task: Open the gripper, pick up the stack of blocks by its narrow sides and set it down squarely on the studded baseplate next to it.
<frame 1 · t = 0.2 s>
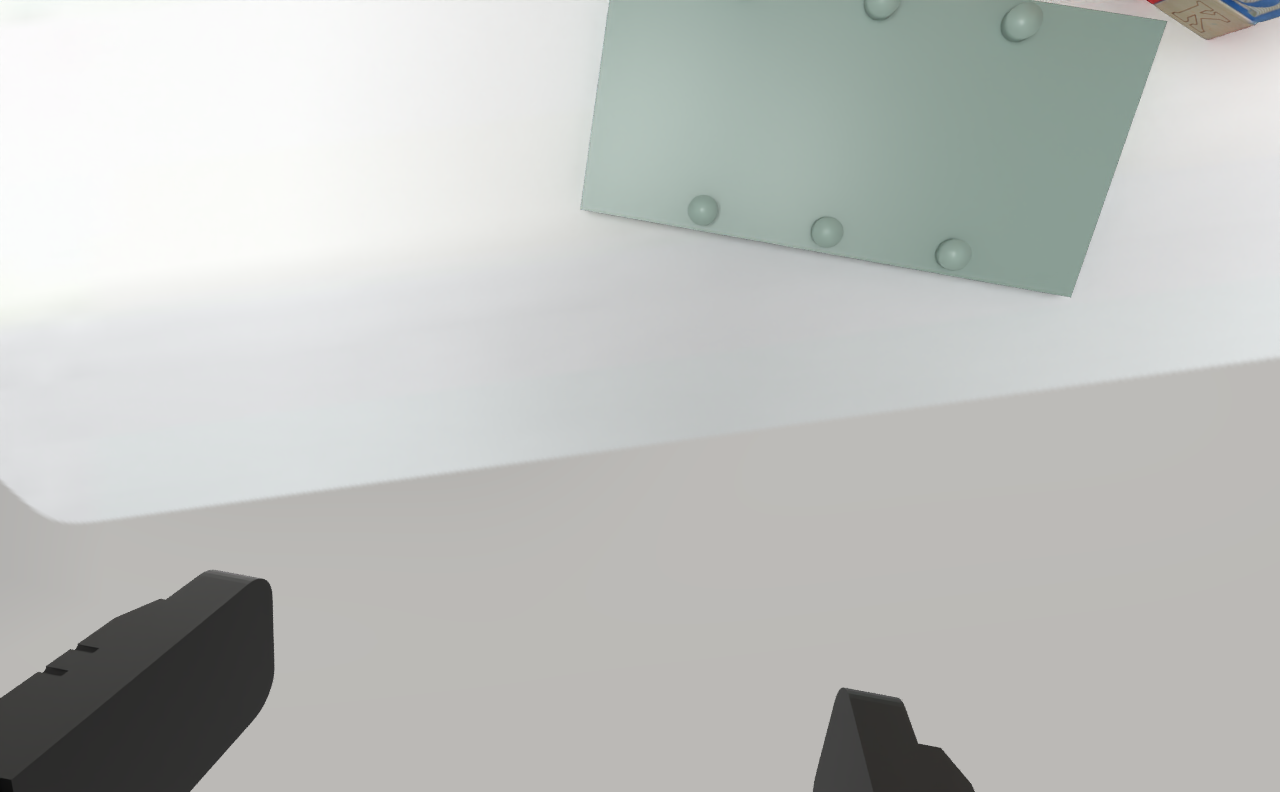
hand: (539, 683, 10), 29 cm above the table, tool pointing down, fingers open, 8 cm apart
baseplate: (846, 125, 34), on the table
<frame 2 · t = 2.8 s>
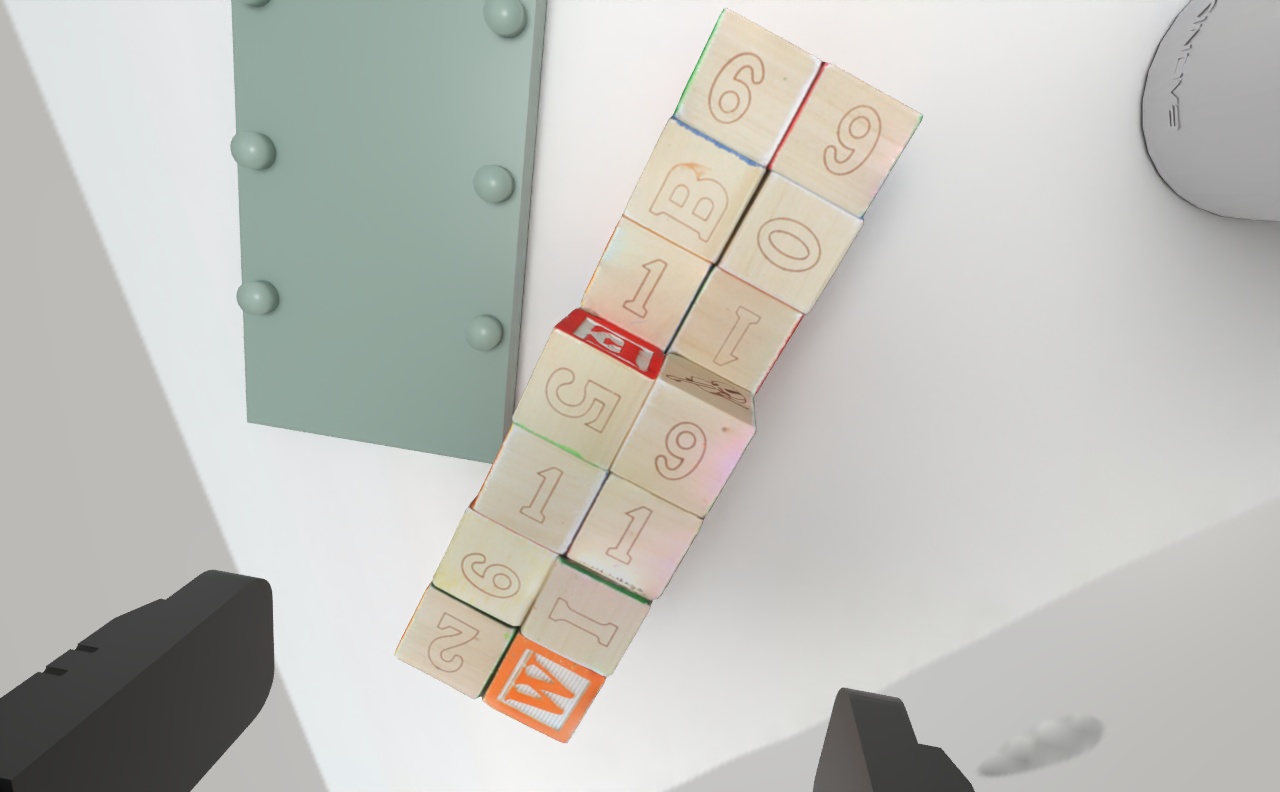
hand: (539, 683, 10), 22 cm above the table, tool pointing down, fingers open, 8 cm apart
stack of blocks: (667, 336, 31), on the table
baseplate: (393, 168, 30), on the table
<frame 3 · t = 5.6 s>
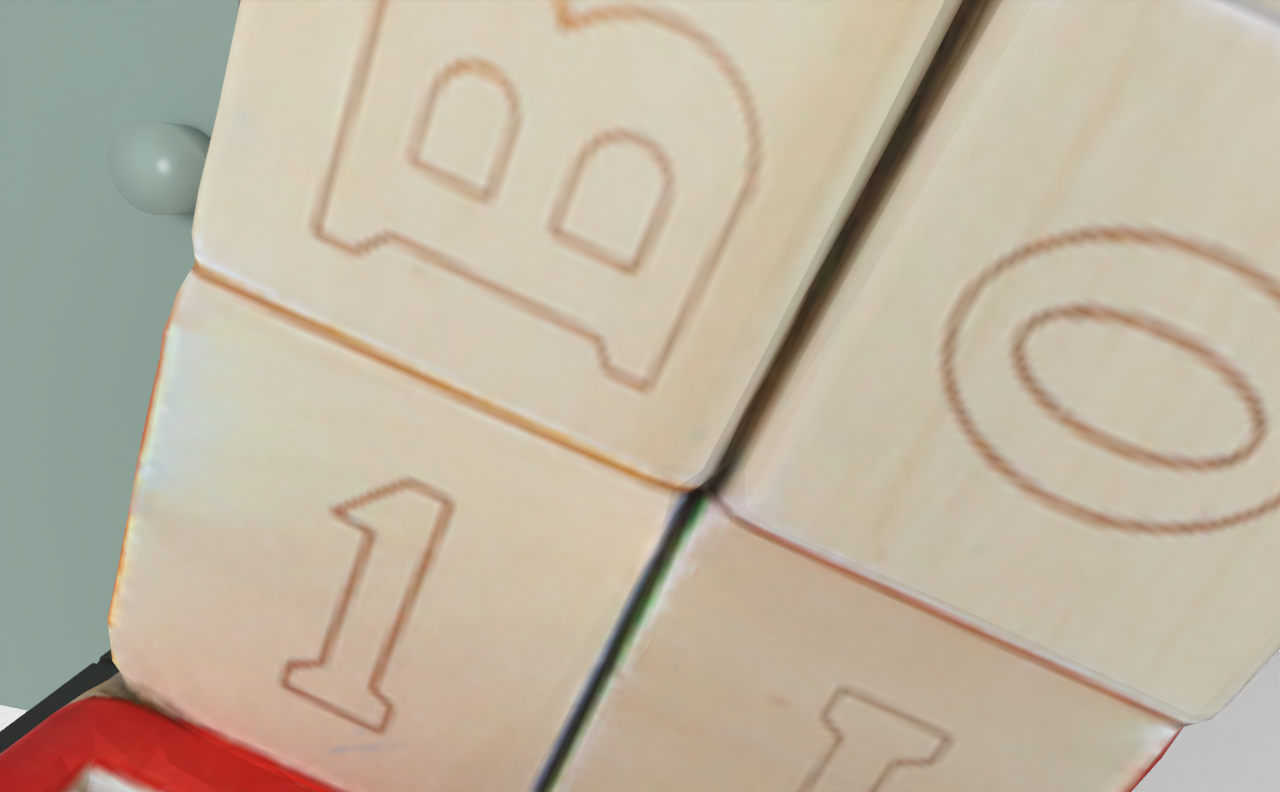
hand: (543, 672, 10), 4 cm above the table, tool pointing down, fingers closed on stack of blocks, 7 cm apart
stack of blocks: (618, 487, 14), on the table, touching gripper
baseplate: (0, 138, 13), on the table
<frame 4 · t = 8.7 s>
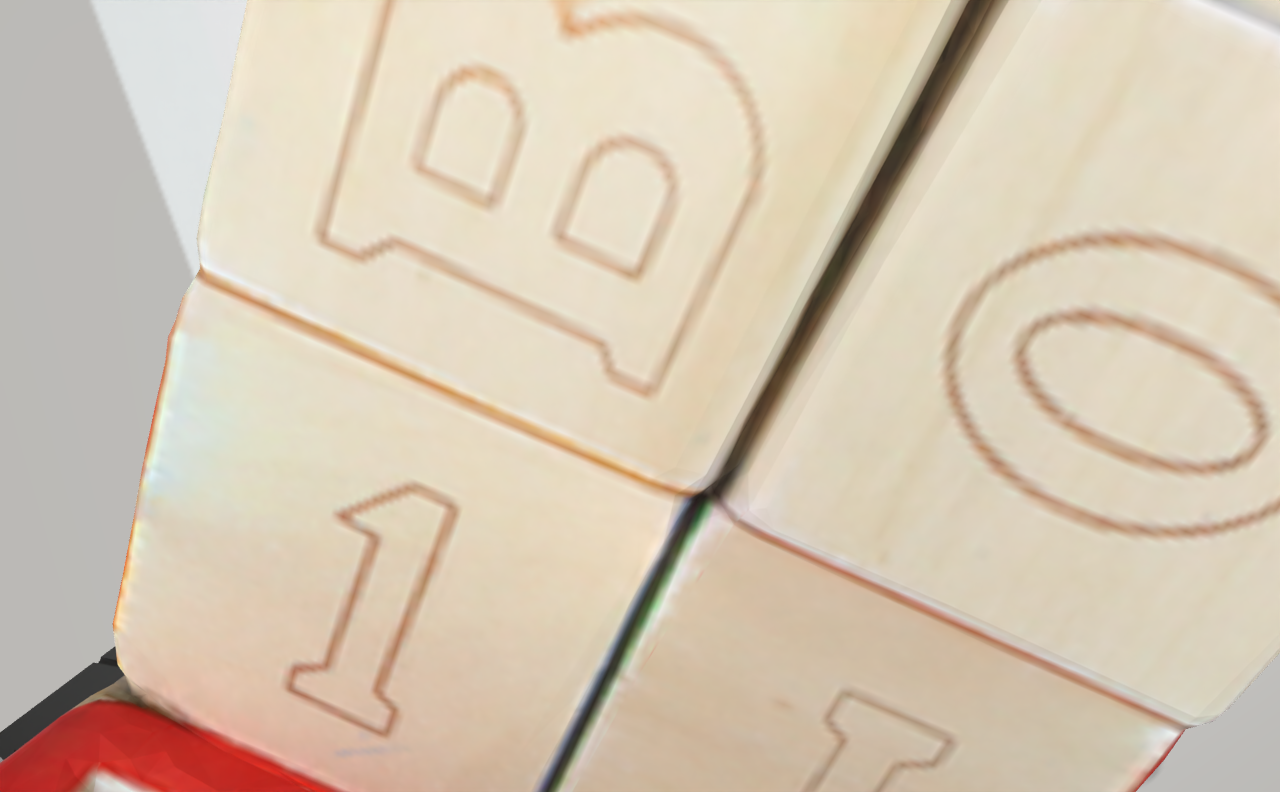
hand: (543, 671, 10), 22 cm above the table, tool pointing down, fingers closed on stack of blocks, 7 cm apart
stack of blocks: (619, 488, 14), point 17 cm above the table, touching gripper
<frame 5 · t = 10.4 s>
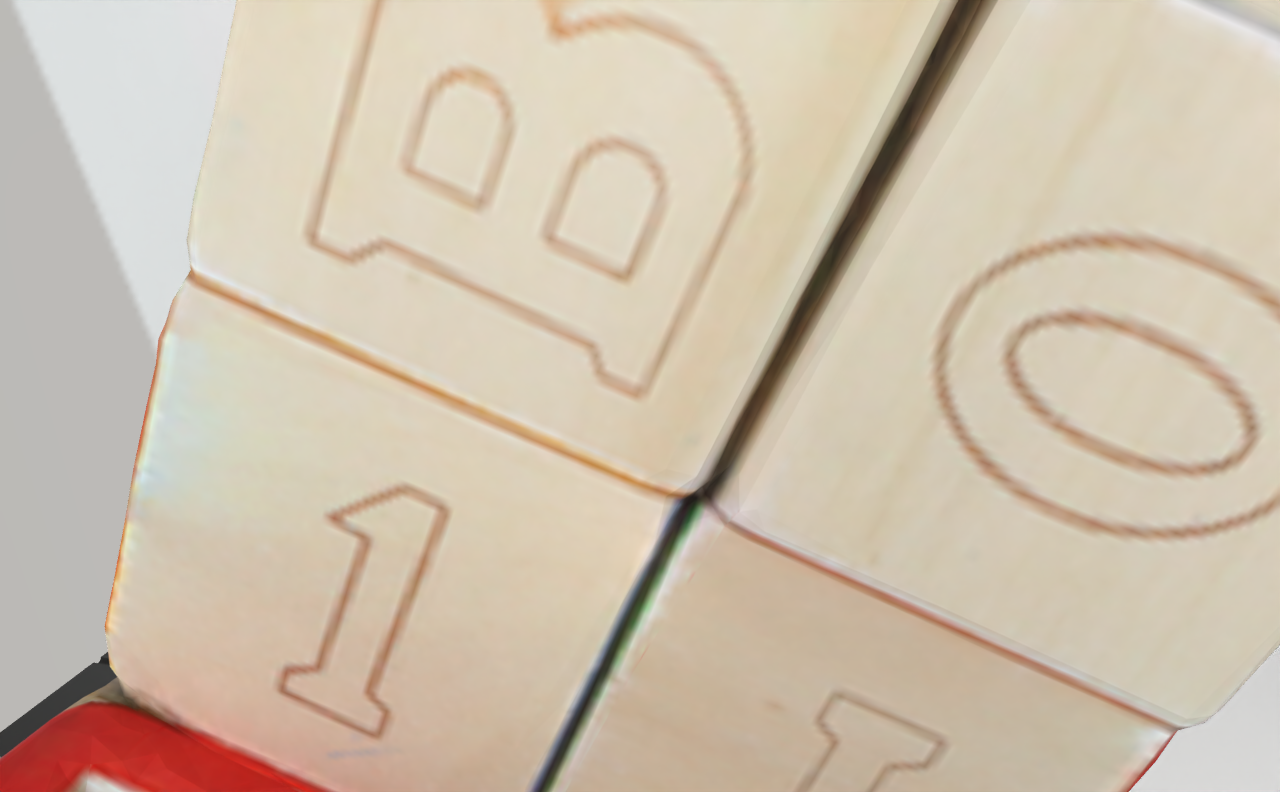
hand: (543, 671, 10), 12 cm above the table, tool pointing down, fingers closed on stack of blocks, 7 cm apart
stack of blocks: (617, 489, 14), point 7 cm above the table, touching gripper
when the fingers open (7 cm above the table, at t = 11.9 s): stack of blocks stays where it is, resting on baseplate.
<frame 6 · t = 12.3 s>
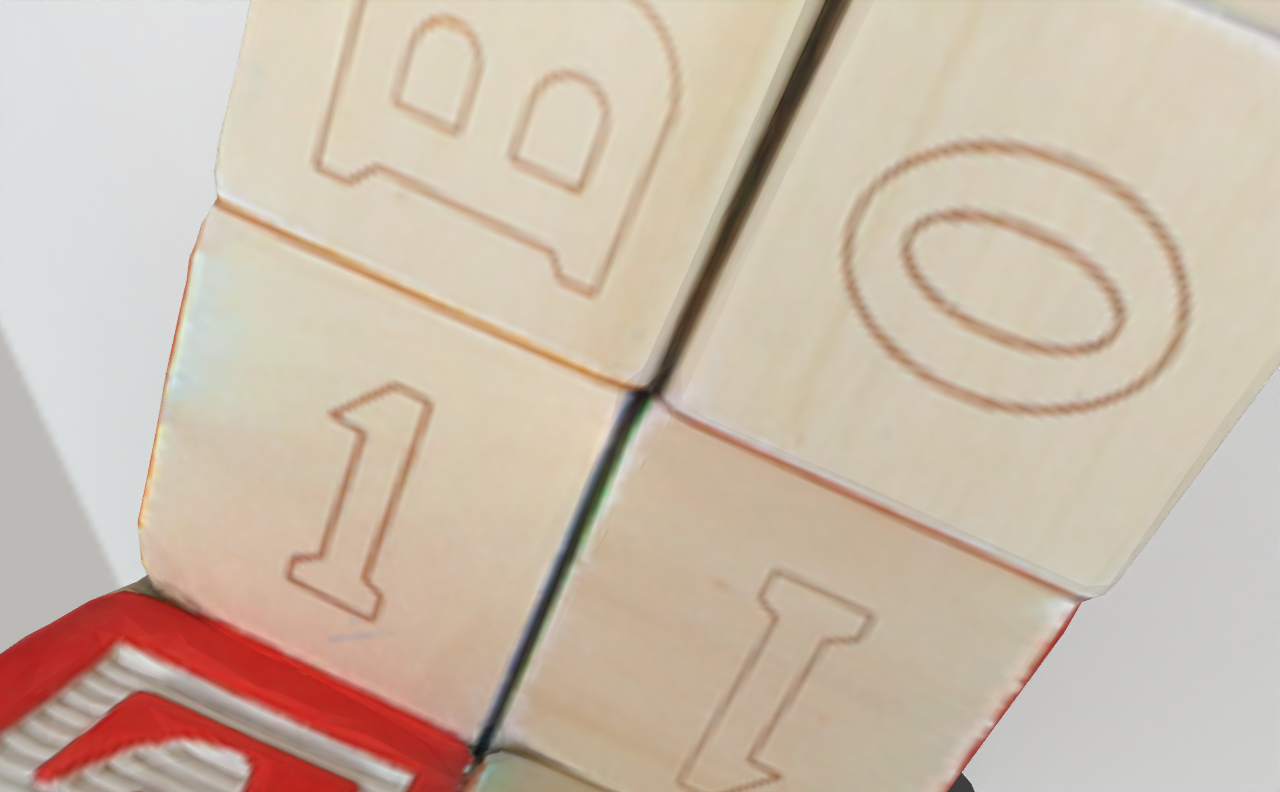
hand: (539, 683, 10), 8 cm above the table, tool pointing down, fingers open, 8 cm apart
stack of blocks: (621, 475, 15), point 2 cm above the table, touching baseplate
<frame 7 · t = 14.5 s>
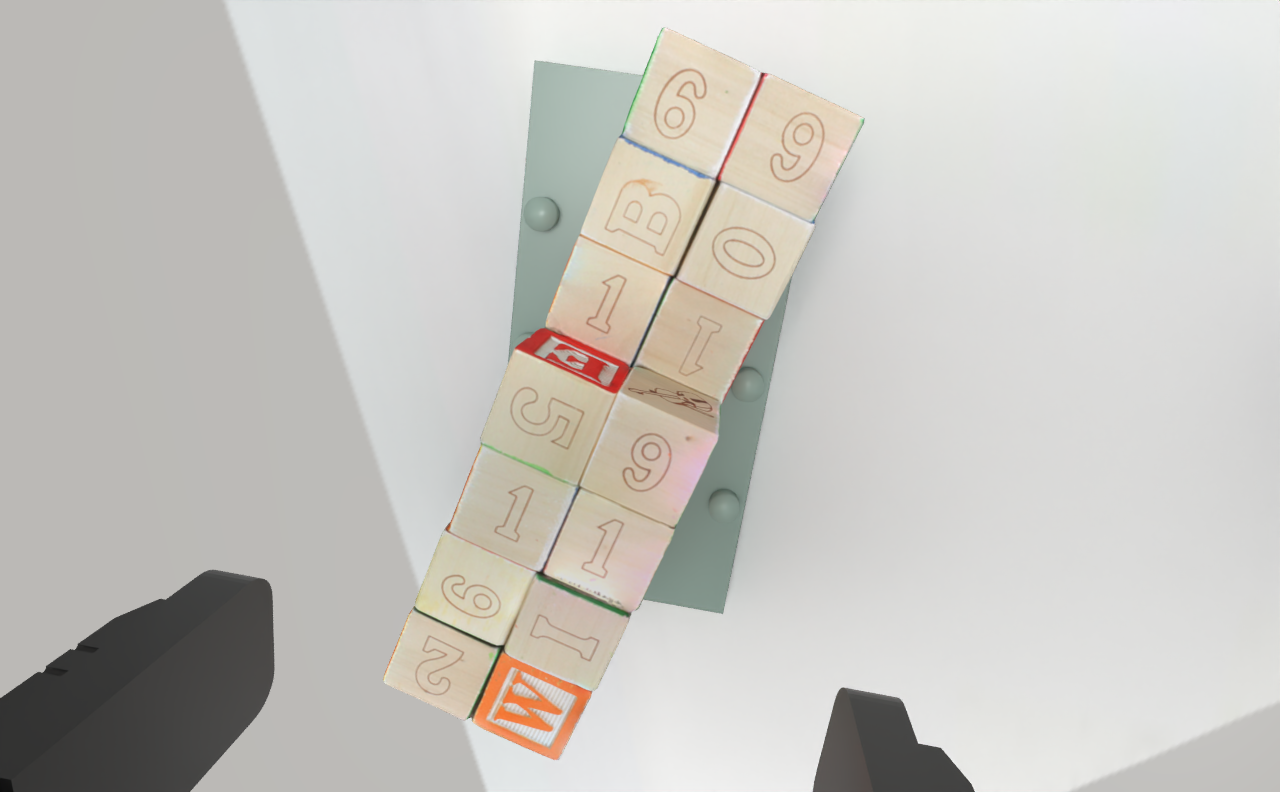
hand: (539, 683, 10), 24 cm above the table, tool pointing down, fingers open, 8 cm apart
stack of blocks: (645, 349, 31), point 2 cm above the table, touching baseplate
baseplate: (641, 357, 33), on the table
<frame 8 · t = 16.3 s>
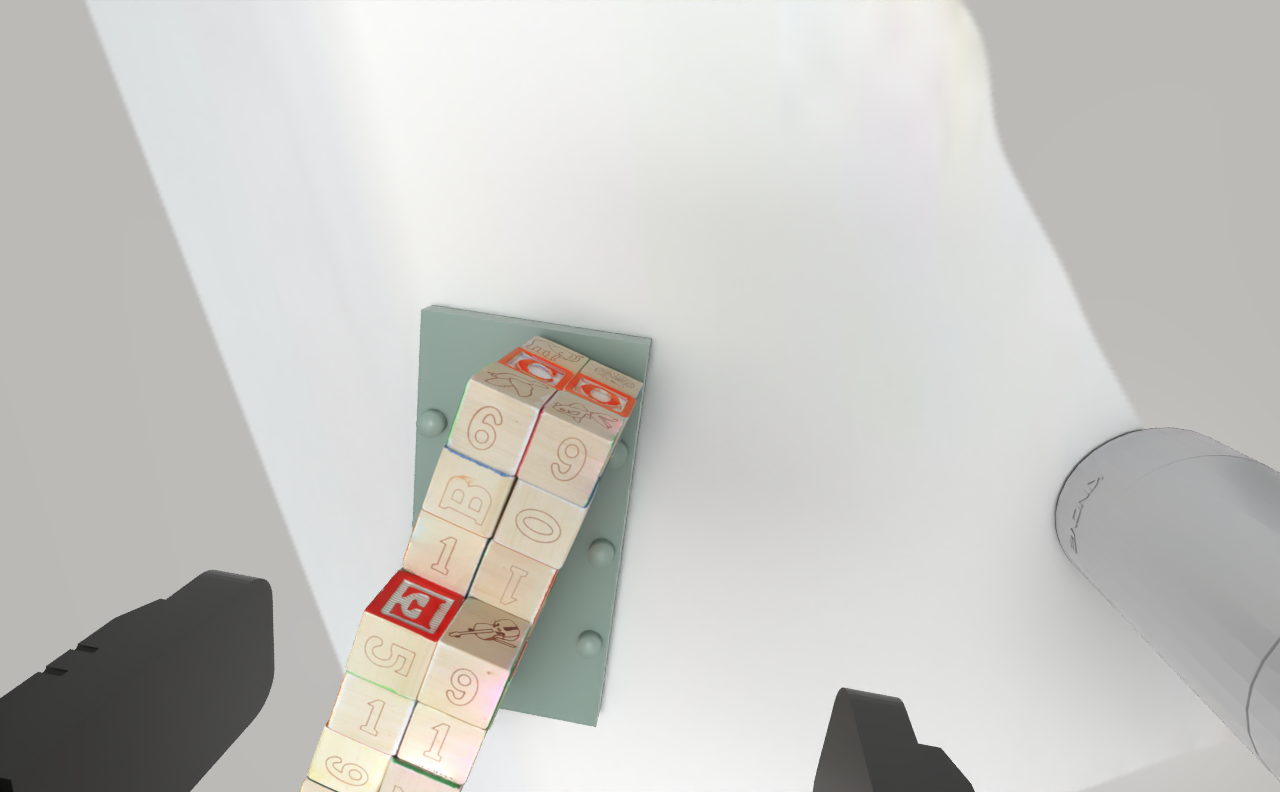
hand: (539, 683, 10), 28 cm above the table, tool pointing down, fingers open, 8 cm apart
stack of blocks: (518, 526, 38), point 2 cm above the table, touching baseplate
baseplate: (522, 522, 41), on the table
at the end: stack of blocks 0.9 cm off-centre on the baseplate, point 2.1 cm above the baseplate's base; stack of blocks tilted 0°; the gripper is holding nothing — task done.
